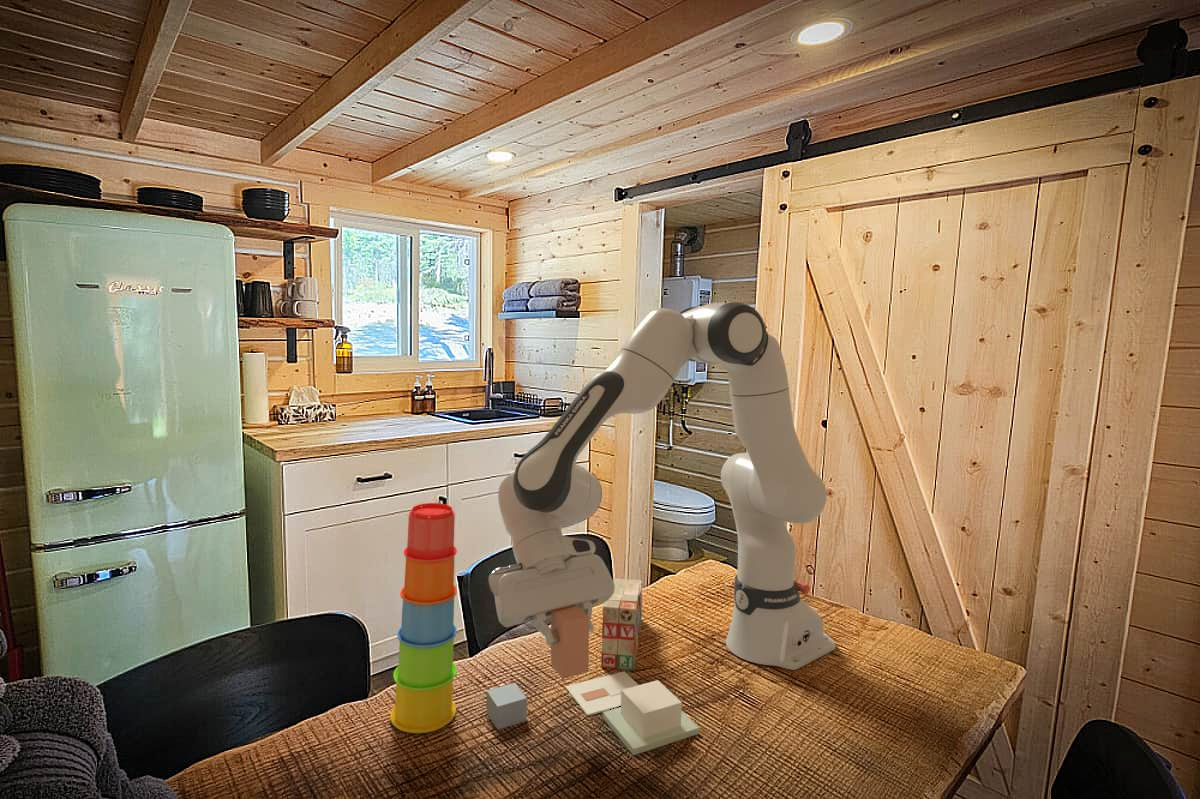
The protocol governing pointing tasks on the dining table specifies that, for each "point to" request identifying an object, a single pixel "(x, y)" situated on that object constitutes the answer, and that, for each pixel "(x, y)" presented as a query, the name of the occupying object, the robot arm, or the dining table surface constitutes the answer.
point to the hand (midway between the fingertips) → (571, 638)
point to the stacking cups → (427, 623)
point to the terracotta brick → (570, 641)
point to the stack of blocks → (622, 625)
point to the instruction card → (601, 692)
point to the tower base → (650, 741)
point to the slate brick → (506, 705)
